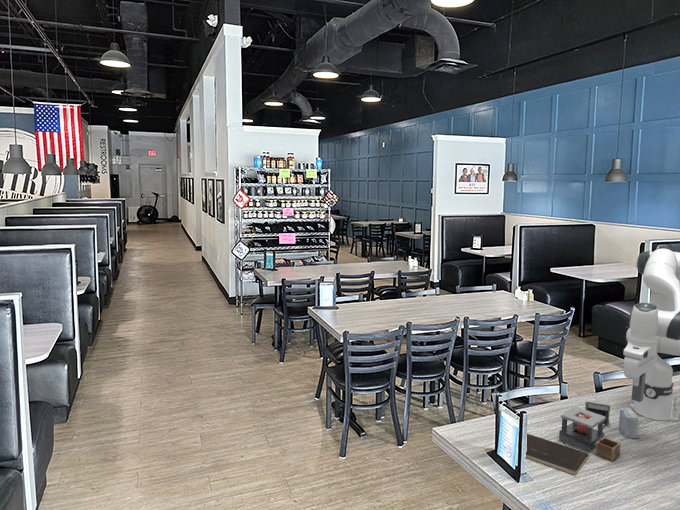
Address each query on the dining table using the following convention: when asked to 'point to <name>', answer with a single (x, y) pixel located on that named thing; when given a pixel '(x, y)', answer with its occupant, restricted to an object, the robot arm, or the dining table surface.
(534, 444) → the hardcover book
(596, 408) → the electrical switch
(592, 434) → the grey ball cage
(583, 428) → the button
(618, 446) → the brown wooden box
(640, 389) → the dark gray rectangular block
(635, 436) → the medicine box
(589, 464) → the dining table surface
